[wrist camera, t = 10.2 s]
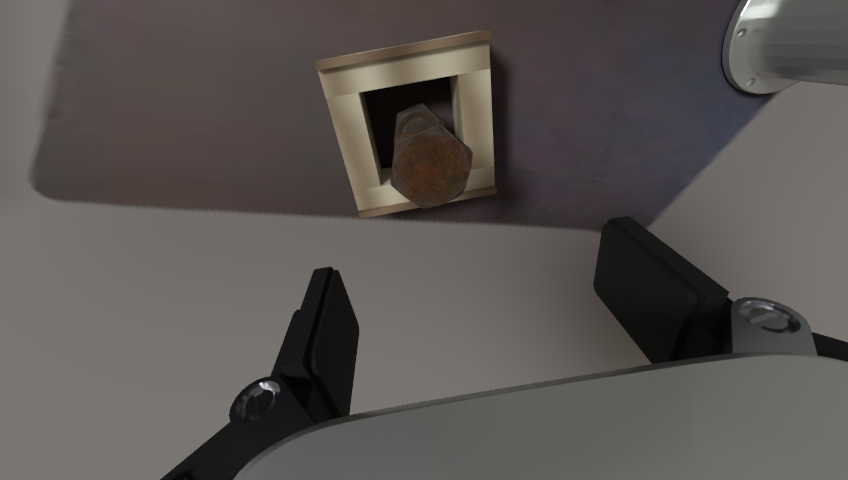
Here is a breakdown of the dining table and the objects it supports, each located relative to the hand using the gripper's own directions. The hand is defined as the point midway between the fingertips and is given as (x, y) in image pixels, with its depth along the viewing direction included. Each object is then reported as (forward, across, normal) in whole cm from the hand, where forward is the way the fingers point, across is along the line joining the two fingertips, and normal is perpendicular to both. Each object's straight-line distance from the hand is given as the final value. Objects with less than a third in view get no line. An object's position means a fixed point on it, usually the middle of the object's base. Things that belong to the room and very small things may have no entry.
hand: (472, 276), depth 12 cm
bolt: (+26, +1, 0) cm, 26 cm away
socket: (+26, +1, 0) cm, 26 cm away
